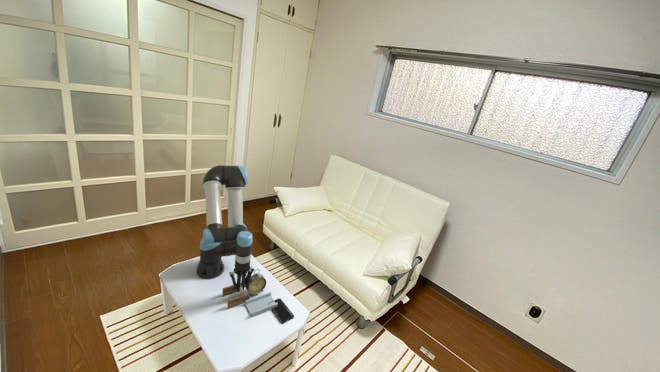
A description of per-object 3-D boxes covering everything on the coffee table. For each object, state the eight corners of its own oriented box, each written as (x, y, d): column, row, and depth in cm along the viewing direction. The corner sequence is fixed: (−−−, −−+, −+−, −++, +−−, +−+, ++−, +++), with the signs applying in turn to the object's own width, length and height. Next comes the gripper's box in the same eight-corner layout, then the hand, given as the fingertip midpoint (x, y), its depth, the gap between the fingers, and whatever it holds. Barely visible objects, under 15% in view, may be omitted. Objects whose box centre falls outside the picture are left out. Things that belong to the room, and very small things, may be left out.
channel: (222, 295, 145) (222, 288, 143) (242, 288, 152) (242, 281, 150) (228, 308, 138) (228, 301, 136) (249, 301, 144) (249, 294, 142)
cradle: (245, 304, 142) (245, 300, 141) (270, 295, 151) (270, 291, 150) (251, 317, 135) (252, 313, 135) (277, 307, 144) (277, 303, 143)
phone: (279, 297, 150) (294, 316, 140) (279, 299, 150) (294, 317, 140) (267, 303, 144) (282, 323, 135) (267, 305, 145) (281, 324, 135)
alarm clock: (247, 299, 145) (249, 275, 140) (243, 292, 149) (245, 269, 144) (265, 292, 152) (268, 269, 147) (261, 286, 156) (264, 263, 150)
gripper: (232, 267, 130) (229, 304, 138) (257, 261, 138) (253, 296, 146) (227, 258, 136) (225, 294, 144) (252, 252, 143) (249, 287, 152)
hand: (239, 295), depth 145 cm, fingers closed
